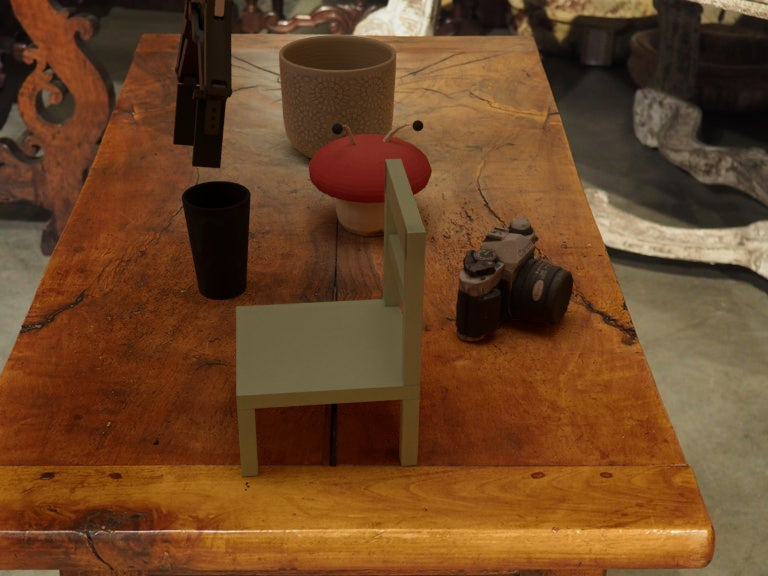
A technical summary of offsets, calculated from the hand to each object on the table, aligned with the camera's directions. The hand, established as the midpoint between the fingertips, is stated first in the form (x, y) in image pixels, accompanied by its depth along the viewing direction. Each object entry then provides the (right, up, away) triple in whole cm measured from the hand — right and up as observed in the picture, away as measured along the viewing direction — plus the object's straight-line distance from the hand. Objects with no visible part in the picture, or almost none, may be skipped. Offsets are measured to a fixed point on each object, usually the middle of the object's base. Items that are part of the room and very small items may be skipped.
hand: (195, 155), depth 112 cm
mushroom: (+18, -6, +29) cm, 35 cm away
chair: (+14, -27, -8) cm, 31 cm away
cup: (+1, -14, +14) cm, 20 cm away
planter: (+13, +7, +50) cm, 52 cm away
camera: (+35, -17, +9) cm, 40 cm away
